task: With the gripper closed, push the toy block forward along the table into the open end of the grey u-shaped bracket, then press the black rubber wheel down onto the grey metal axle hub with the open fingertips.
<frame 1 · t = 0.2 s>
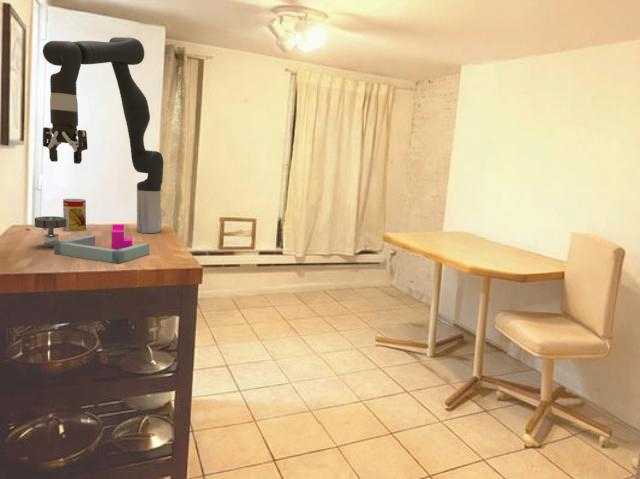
hand: (65, 162, 148), 29 cm above the worktop, tool pointing down, fingers open, 8 cm apart
grey u-shaped bracket: (102, 253, 153), on the worktop
axle hub: (51, 246, 157), on the worktop
toy block: (121, 249, 162), on the worktop
canned food: (75, 230, 188), on the worktop
wheel: (50, 222, 155), point 8 cm above the worktop, slide at 3.0 cm
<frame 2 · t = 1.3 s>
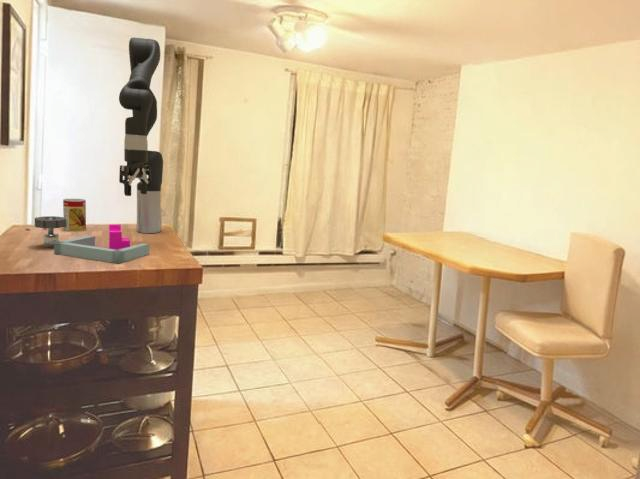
hand: (135, 194, 166), 18 cm above the worktop, tool pointing down, fingers open, 8 cm apart
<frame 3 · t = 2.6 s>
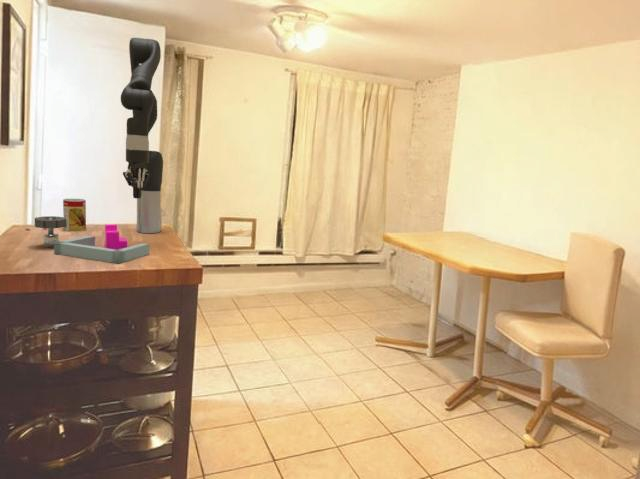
hand: (137, 198, 166), 17 cm above the worktop, tool pointing down, fingers closed
toy block: (115, 250, 160), on the worktop
everything else where it was.
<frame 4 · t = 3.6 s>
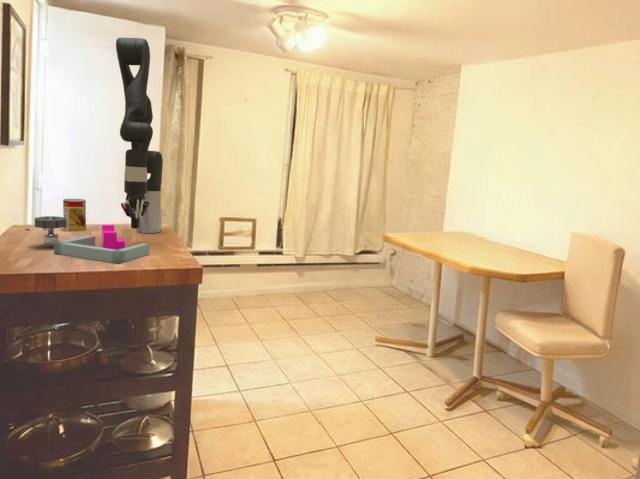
hand: (135, 228, 168), 6 cm above the worktop, tool pointing down, fingers closed
nothing on the worktop moved.
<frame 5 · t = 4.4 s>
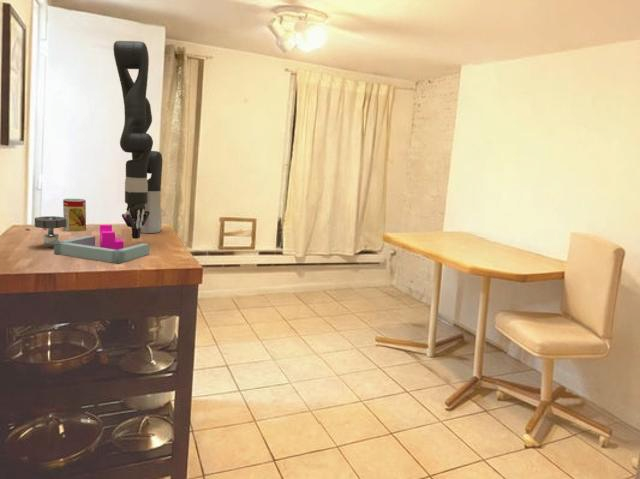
hand: (136, 238, 168), 3 cm above the worktop, tool pointing down, fingers closed
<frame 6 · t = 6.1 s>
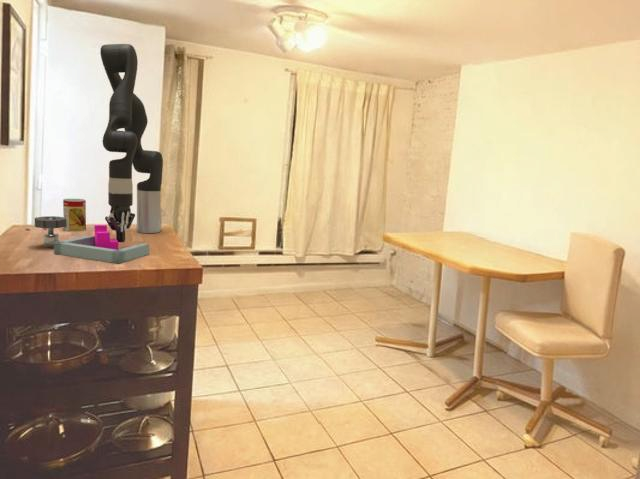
hand: (120, 242, 160), 3 cm above the worktop, tool pointing down, fingers closed
toy block: (106, 251, 158), on the worktop
everything else where it was.
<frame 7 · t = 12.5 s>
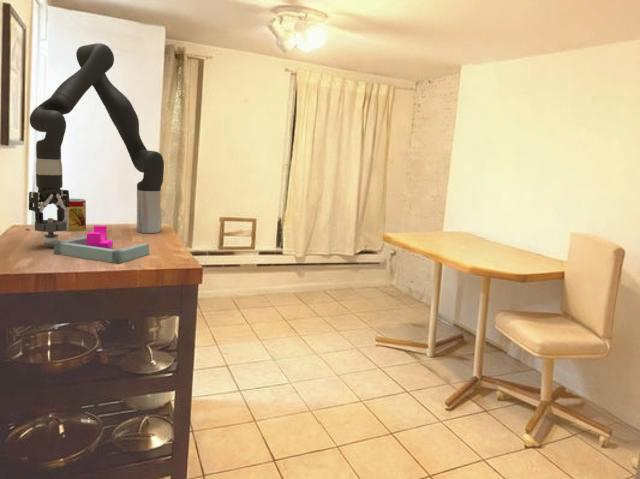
hand: (50, 222, 155), 8 cm above the worktop, tool pointing down
toy block: (101, 252, 156), on the worktop
wheel: (50, 225, 156), point 7 cm above the worktop, slide at 1.8 cm, touching gripper
everything else where it was.
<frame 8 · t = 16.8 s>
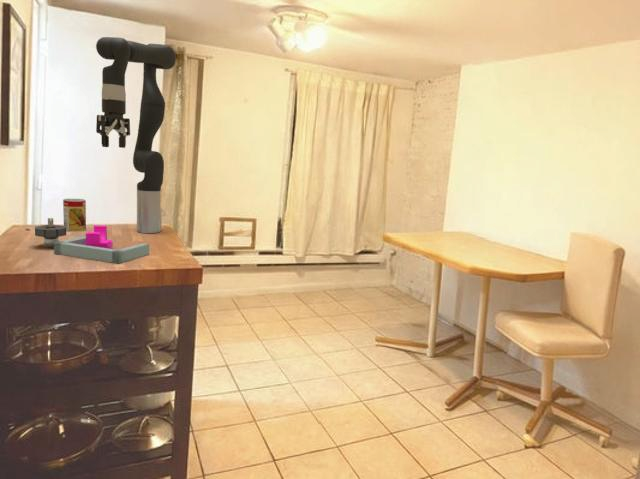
hand: (113, 147, 163), 34 cm above the worktop, tool pointing down, fingers open, 8 cm apart
wheel: (50, 230, 156), point 5 cm above the worktop, slide at 0.1 cm
everything else where it was.
at the end: toy block inside the target area on the grey u-shaped bracket (3.4 cm from its centre), point 0.0 cm above the grey u-shaped bracket's base; toy block moved 7.7 cm from its start; wheel slide at 0.1 cm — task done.
